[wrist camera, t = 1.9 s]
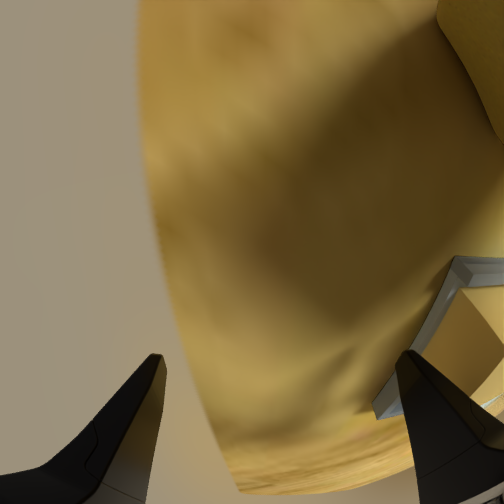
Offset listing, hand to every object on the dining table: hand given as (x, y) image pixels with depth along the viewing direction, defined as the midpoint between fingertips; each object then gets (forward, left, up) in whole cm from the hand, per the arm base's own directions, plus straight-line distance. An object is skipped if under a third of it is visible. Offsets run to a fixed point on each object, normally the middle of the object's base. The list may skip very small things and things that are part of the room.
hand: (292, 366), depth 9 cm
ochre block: (-11, 0, -1) cm, 11 cm away
